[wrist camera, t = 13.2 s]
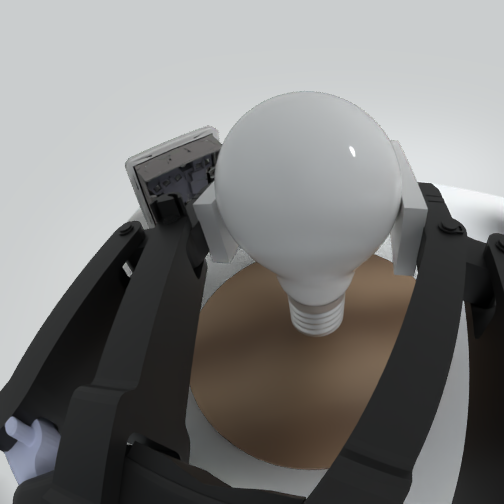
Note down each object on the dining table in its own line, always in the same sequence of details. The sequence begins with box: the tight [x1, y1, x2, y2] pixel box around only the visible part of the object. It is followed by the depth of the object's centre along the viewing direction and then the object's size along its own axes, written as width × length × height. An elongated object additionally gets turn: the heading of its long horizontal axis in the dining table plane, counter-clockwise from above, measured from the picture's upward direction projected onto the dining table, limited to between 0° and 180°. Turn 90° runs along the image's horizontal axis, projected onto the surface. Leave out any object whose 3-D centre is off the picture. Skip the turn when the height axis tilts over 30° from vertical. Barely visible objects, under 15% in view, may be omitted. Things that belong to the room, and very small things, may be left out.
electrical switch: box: [125, 126, 222, 229], centre depth 26 cm, size 9×5×9 cm, turn 123°
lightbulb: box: [214, 91, 402, 337], centre depth 11 cm, size 6×6×11 cm
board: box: [190, 254, 416, 470], centre depth 15 cm, size 15×15×1 cm
